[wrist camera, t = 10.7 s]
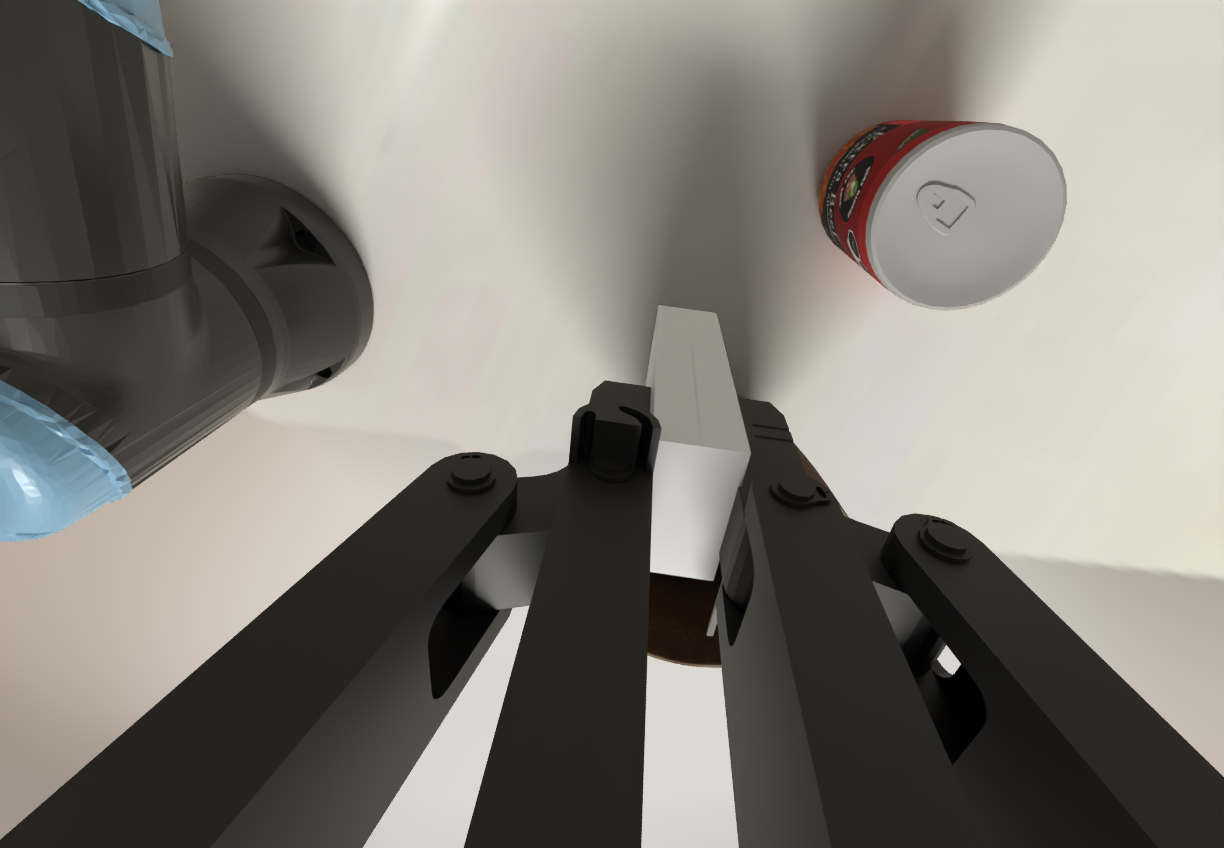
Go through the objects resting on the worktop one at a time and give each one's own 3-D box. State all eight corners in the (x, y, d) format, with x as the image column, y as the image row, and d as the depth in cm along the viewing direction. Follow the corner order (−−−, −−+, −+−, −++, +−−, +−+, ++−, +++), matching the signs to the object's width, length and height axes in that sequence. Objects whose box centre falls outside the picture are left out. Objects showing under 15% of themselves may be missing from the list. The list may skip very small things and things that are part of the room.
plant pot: (836, 368, 39) (925, 510, 25) (752, 521, 46) (785, 695, 32) (635, 306, 38) (612, 418, 24) (584, 472, 45) (543, 629, 32)
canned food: (849, 102, 31) (926, 97, 21) (982, 142, 31) (1116, 155, 22) (793, 237, 35) (837, 284, 25) (911, 272, 35) (999, 331, 25)
